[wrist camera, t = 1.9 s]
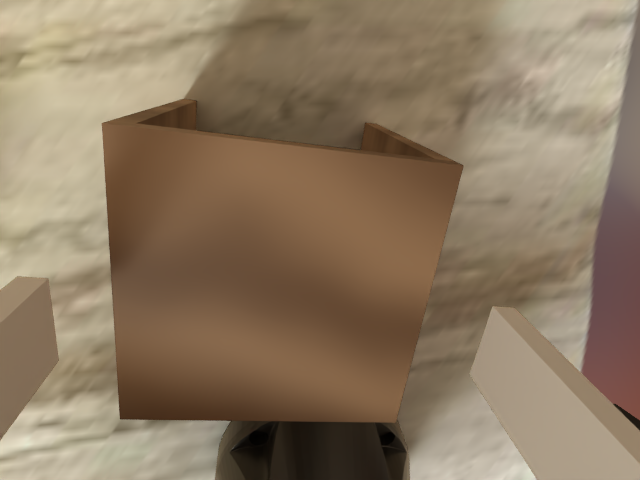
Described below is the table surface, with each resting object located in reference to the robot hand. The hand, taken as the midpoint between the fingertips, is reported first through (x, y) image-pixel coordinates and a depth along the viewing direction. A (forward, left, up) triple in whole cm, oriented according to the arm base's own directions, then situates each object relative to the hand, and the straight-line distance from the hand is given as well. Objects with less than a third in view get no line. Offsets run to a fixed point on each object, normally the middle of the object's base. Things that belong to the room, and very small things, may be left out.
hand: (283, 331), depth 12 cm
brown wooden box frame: (0, 0, -14) cm, 14 cm away
